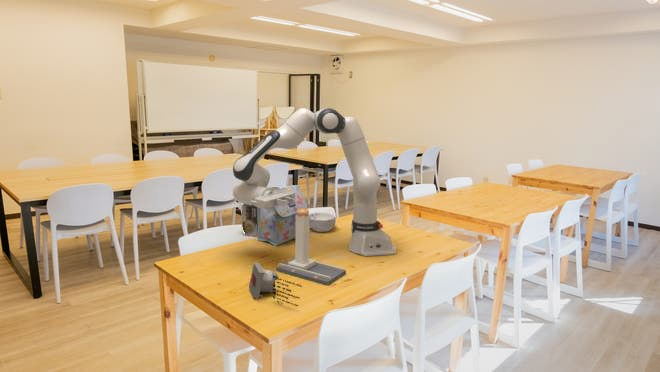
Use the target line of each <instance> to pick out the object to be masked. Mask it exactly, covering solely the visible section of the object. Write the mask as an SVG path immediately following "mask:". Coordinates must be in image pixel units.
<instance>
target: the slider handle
mask: <svg viewBox="0 0 660 372" xmlns="http://www.w3.org/2000/svg"><path fill="white" fill-rule="evenodd" d="M309 212H310V211H309V209H308V208H306V209H297V215H296V238H295V239H294V240H295V244H294V245H295V250H294V251H295V253H294V254H295V255H294V256H295V259H294V260H292V259H291V260H292V261H290V260H289V261H290V262H288V261H287V262H288V265H289V266H293V267H296V268H300V269H303V270H307V269H309V268H311V267H312V266H314V265H316V260H315V259H312V258H310V226H309V218H310V215H309V214H310V213H309Z"/></svg>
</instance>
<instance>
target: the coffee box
mask: <svg viewBox="0 0 660 372" xmlns="http://www.w3.org/2000/svg"><path fill="white" fill-rule="evenodd" d="M241 227H243V230H244V232H245V234H246V235H245V236H247V237H256V238H258V207H256V206H255V205H247V204H243V203H242V204H241Z"/></svg>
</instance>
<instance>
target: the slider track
mask: <svg viewBox="0 0 660 372" xmlns="http://www.w3.org/2000/svg"><path fill="white" fill-rule="evenodd" d="M294 259H295V255H293V258H292V259H289V260H288V261H286V262H285V263H284V262H283V263H281V262H279V263H278V265H277V267H276V268H275V271H276V272H279V273H283V274H286V275H290V276H292V277H293V276H294V277H297V278H300V279H303V280H306V281H310V282H313V283H317V284H320V285H323V286H330V285H332V283H335V282H336V281H337V280H339V279H341V278H342V277H343V276H345V275H346V274H347V270H346V269H345V268H343V267H338V266H336V265H331V264H328V263H325V262H320V261H316V265H314V266H312V267H311V268H309V269H307V270H303V269H300V268H296V267H293V266H289V265H288V262H290V261H292V260H294Z"/></svg>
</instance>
